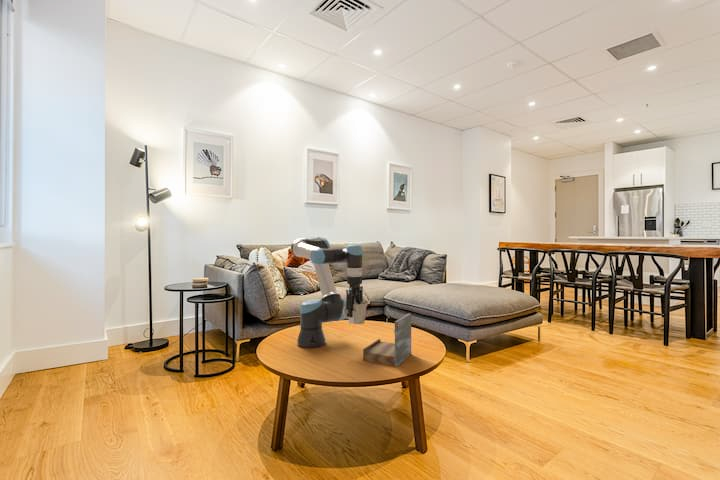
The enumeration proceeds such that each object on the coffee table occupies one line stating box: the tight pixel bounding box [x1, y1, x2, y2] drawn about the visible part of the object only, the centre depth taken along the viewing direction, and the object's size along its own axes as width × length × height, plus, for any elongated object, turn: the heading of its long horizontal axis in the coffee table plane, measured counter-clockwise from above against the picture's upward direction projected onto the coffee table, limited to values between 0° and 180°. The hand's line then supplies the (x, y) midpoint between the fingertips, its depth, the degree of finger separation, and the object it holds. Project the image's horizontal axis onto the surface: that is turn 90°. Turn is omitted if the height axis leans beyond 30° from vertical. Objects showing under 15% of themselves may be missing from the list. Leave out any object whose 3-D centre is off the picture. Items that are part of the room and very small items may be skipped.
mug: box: [342, 301, 368, 325], centre depth 177 cm, size 8×13×10 cm, turn 79°
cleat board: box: [362, 313, 412, 367], centre depth 171 cm, size 18×18×20 cm
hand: (354, 321), depth 178 cm, fingers closed on mug, 6 cm apart
